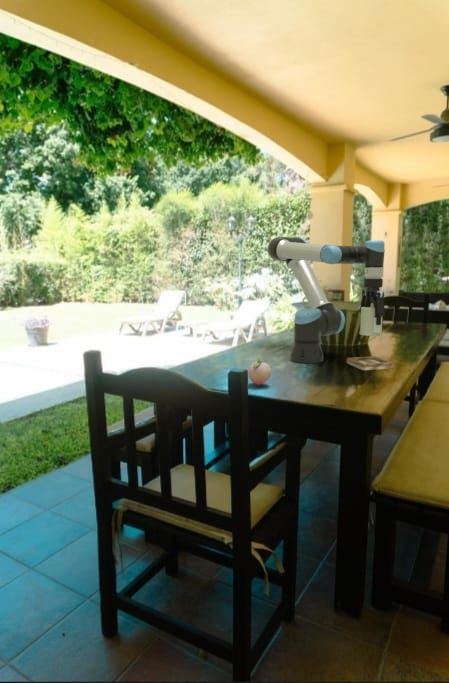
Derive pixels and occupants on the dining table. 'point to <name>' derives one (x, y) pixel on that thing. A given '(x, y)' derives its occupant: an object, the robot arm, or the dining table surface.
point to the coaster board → (369, 363)
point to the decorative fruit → (259, 372)
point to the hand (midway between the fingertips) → (370, 330)
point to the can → (368, 322)
